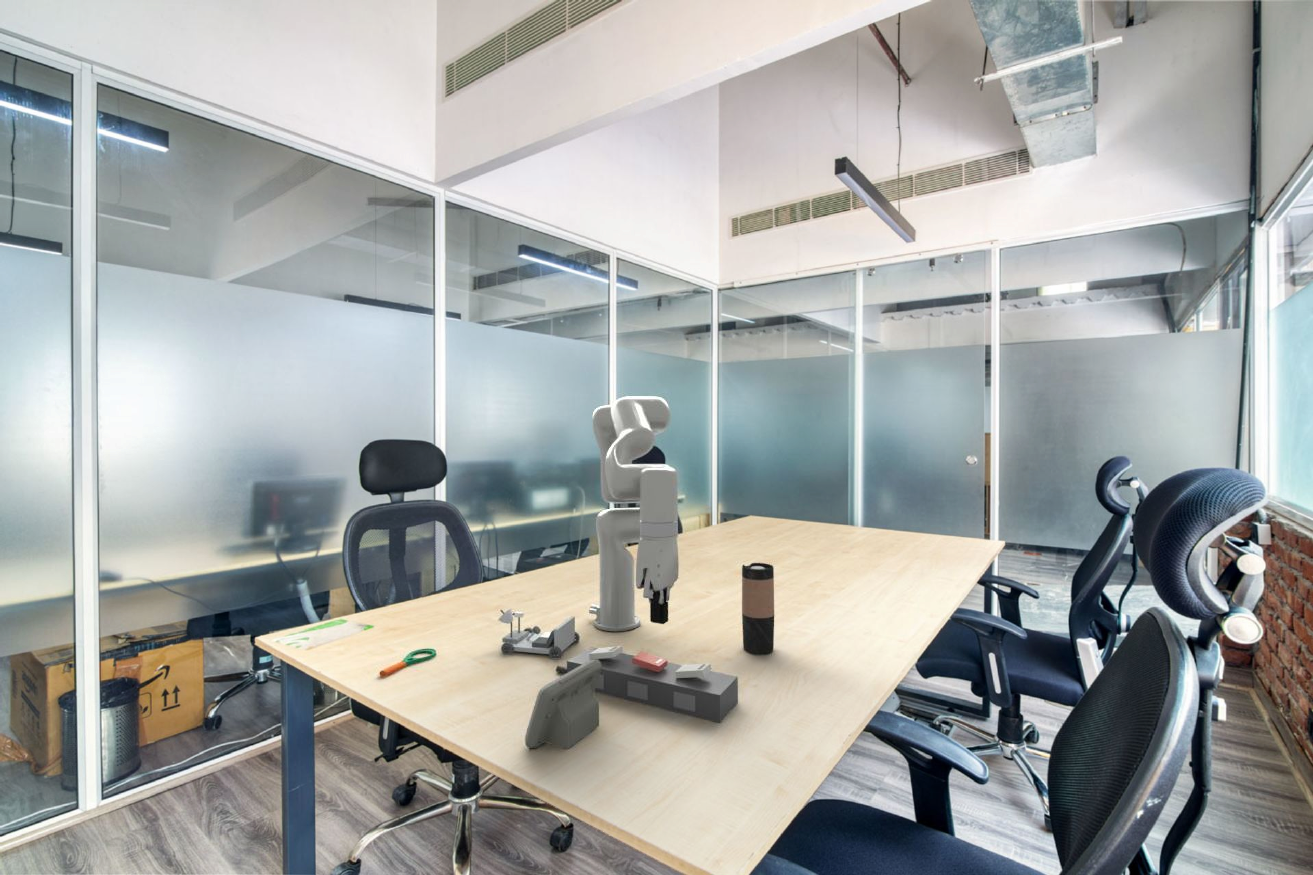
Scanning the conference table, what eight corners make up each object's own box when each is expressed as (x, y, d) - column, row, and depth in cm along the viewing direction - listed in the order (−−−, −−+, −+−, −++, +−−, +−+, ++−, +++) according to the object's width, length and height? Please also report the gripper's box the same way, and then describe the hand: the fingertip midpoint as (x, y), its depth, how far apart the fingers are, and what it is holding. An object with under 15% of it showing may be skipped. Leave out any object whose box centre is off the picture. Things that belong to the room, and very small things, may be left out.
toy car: (490, 613, 138) (514, 599, 150) (491, 654, 138) (514, 637, 150) (560, 618, 134) (579, 604, 145) (560, 661, 134) (579, 643, 145)
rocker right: (676, 678, 111) (674, 671, 111) (684, 671, 114) (682, 664, 114) (704, 676, 108) (702, 669, 108) (711, 669, 111) (710, 662, 111)
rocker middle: (632, 663, 116) (632, 657, 115) (641, 657, 119) (641, 651, 119) (658, 672, 113) (659, 665, 113) (667, 665, 116) (667, 659, 116)
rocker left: (590, 659, 120) (588, 653, 121) (599, 653, 124) (598, 647, 124) (613, 657, 118) (612, 651, 118) (622, 651, 121) (621, 645, 121)
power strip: (543, 679, 123) (543, 656, 123) (570, 664, 131) (569, 642, 131) (719, 723, 103) (719, 695, 103) (737, 702, 112) (737, 676, 112)
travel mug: (774, 656, 135) (774, 570, 135) (741, 654, 136) (740, 569, 136) (774, 644, 142) (774, 563, 142) (743, 642, 144) (742, 562, 144)
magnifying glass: (421, 652, 140) (421, 645, 140) (442, 654, 138) (441, 647, 138) (371, 677, 126) (371, 669, 126) (394, 680, 124) (393, 672, 124)
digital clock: (584, 708, 110) (584, 652, 110) (618, 723, 104) (617, 664, 104) (512, 742, 98) (511, 679, 98) (545, 762, 92) (545, 694, 92)
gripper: (659, 522, 123) (660, 609, 123) (622, 534, 110) (623, 630, 110) (692, 525, 119) (692, 614, 120) (657, 537, 106) (658, 637, 106)
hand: (659, 621), depth 115 cm, fingers closed
